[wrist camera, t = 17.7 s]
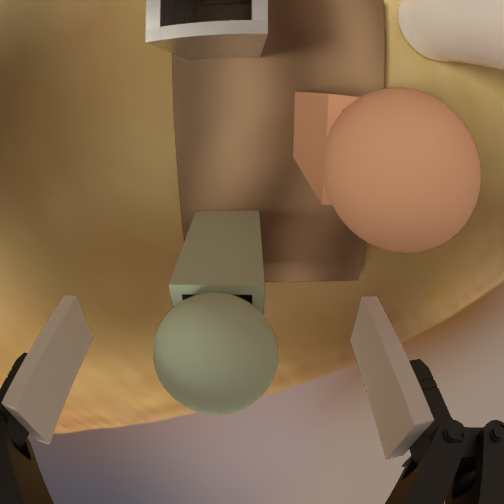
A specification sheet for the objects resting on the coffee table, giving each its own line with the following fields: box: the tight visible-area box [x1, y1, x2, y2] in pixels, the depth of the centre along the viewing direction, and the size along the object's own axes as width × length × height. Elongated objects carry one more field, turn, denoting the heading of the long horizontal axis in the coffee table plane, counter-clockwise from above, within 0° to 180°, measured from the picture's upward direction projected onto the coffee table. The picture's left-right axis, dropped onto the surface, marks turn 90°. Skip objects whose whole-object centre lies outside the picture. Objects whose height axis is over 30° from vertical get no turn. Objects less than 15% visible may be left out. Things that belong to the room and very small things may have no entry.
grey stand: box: [146, 0, 268, 61], centre depth 11 cm, size 4×4×8 cm
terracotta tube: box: [293, 92, 360, 205], centre depth 14 cm, size 4×4×8 cm
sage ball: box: [153, 292, 278, 415], centre depth 12 cm, size 5×5×5 cm
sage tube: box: [169, 210, 265, 315], centre depth 17 cm, size 4×4×8 cm
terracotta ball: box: [323, 88, 481, 253], centre depth 8 cm, size 5×5×5 cm
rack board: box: [172, 0, 385, 282], centre depth 18 cm, size 12×20×1 cm, turn 0°
